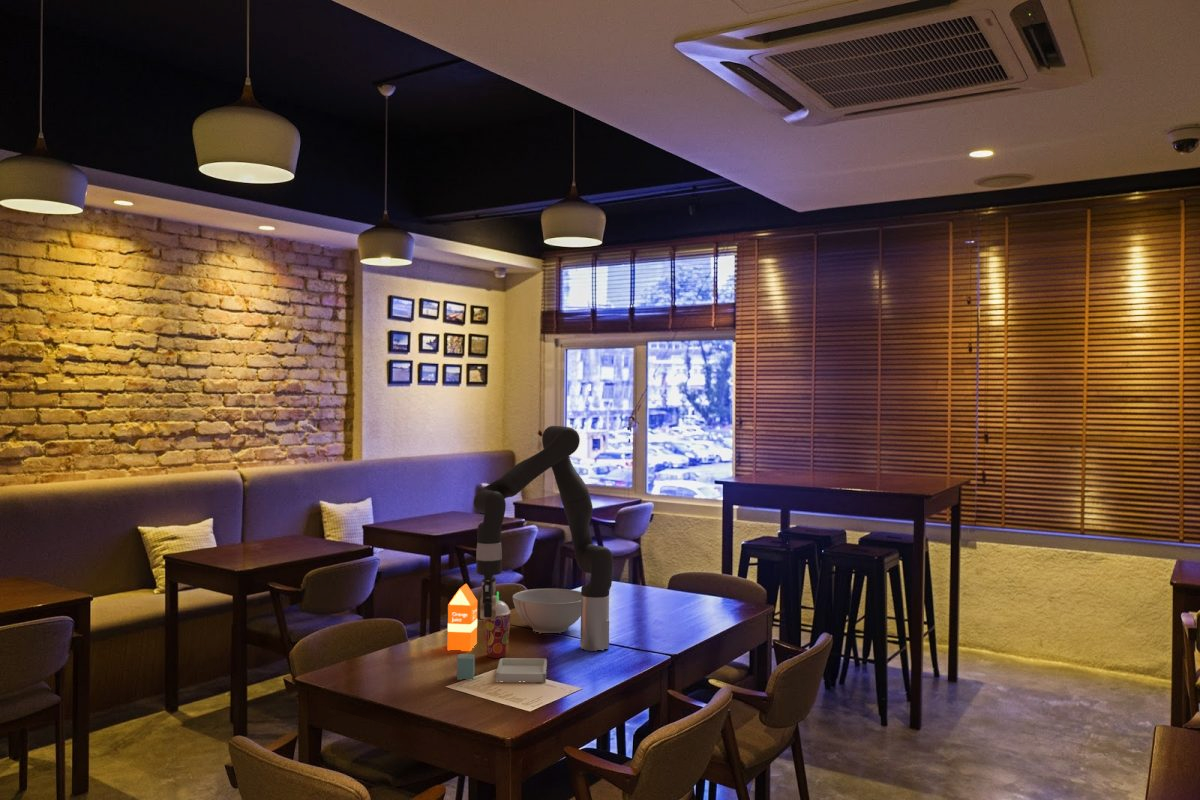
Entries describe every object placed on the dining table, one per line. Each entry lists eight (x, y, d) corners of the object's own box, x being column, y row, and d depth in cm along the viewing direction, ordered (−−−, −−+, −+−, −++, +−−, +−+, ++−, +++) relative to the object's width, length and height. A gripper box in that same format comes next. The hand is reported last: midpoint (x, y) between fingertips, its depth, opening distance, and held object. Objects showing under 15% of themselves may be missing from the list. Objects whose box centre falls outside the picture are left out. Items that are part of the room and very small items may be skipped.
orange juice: (477, 644, 290) (478, 583, 290) (470, 651, 281) (471, 588, 281) (453, 643, 290) (455, 582, 291) (446, 650, 282) (447, 587, 282)
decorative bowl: (499, 635, 302) (500, 600, 302) (528, 618, 327) (529, 586, 328) (573, 642, 294) (574, 606, 294) (597, 624, 320) (597, 591, 320)
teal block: (474, 675, 255) (474, 654, 255) (472, 679, 251) (473, 658, 251) (458, 675, 255) (459, 654, 255) (456, 679, 251) (457, 658, 251)
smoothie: (494, 650, 282) (495, 588, 282) (515, 654, 278) (516, 591, 278) (477, 656, 275) (478, 592, 275) (499, 660, 270) (500, 595, 271)
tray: (546, 666, 265) (546, 658, 265) (545, 682, 249) (545, 673, 249) (500, 666, 264) (500, 658, 264) (495, 682, 248) (495, 673, 248)
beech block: (496, 615, 264) (496, 595, 264) (495, 618, 259) (495, 598, 259) (481, 615, 264) (481, 595, 264) (480, 618, 259) (480, 598, 259)
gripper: (499, 561, 255) (499, 620, 255) (503, 553, 269) (503, 609, 269) (473, 561, 255) (473, 620, 254) (478, 553, 269) (478, 609, 269)
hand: (488, 614), depth 262 cm, fingers closed on beech block, 4 cm apart
